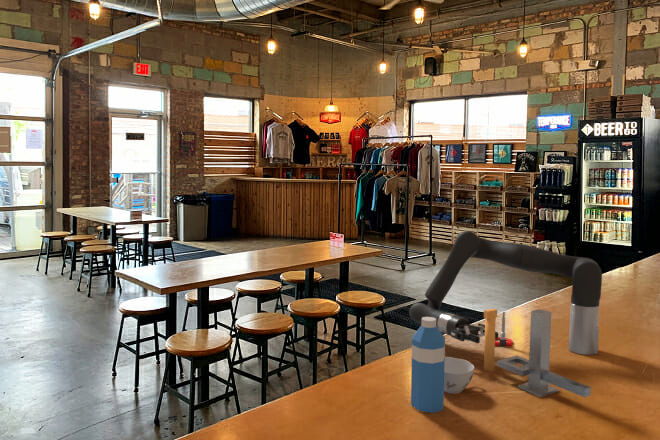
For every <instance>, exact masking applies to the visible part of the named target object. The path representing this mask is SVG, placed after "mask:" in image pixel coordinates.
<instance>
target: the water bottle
mask: <svg viewBox="0 0 660 440" xmlns="http://www.w3.org/2000/svg"><path fill="white" fill-rule="evenodd" d="M445 354H446V337H445V336H444V333H443V332H441V331H440V330H439V329H438V327H437V326H436V318H433V317H422V320H421V324H420V326H419V328H418V329H417V330H416V331H415V333H414V334H413V336H412V338H411V372H410V373H411V375H410V376H411V379H410V380H411V383H410V385H411V387H410V389H411V390H410V395H411V396H410V406H411V405H412V406H413V407H415V408H416V409H417V410H419V411H424V412H423V413H427V412H430V413H429V414H434V412H435V413H438V412H442V411H443V409H444V405H445V403H444V402H445V401H444V400H445V398H444V397H445V391H444V367H445V357H446V355H445ZM413 407H412V408H413ZM416 409H415V410H416ZM417 410H416V411H417ZM419 411H418V412H419Z"/></svg>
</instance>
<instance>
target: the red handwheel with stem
mask: <svg viewBox="0 0 660 440" xmlns="http://www.w3.org/2000/svg"><path fill="white" fill-rule="evenodd" d="M505 314H506V311H502V316H501V332H500V336H498V339H495V347H504V348H505V347H511V348H512V347H513V340H512V339H511V338H507V337H506V317H505V316H506V315H505Z"/></svg>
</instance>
